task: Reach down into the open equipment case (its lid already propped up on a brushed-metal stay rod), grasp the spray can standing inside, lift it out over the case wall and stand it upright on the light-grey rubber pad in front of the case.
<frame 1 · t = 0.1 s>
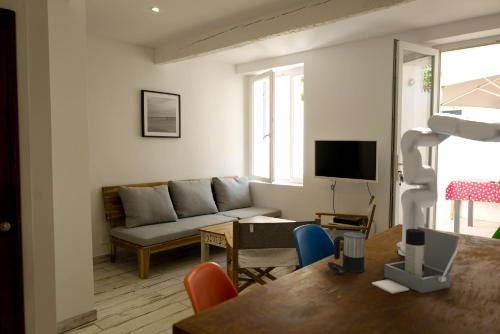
spray can: (413, 282, 143), resting in case
case: (415, 281, 143), on the table
pad: (390, 286, 138), on the table
milk frother: (346, 271, 156), on the table
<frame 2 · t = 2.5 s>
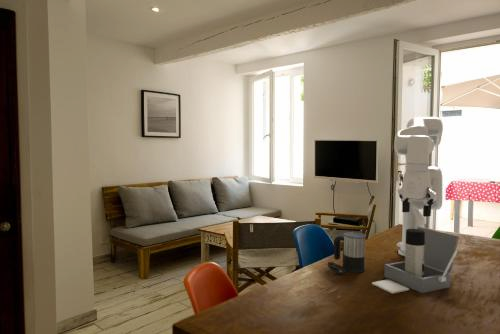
hand: (416, 214, 141), 26 cm above the table, fingers open, 9 cm apart
nothing on the table moved.
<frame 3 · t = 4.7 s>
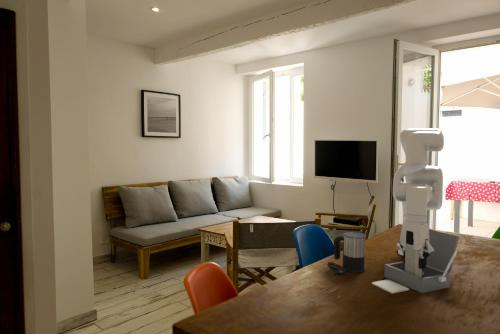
hand: (414, 264, 142), 7 cm above the table, fingers closed on spray can, 6 cm apart
spray can: (413, 282, 143), resting in case, touching gripper
everything else where it was.
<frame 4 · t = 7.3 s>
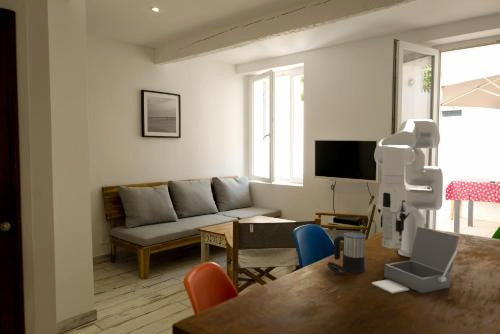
hand: (391, 228, 137), 22 cm above the table, fingers closed on spray can, 6 cm apart
spray can: (391, 247, 137), point 15 cm above the table, touching gripper
everything else where it was.
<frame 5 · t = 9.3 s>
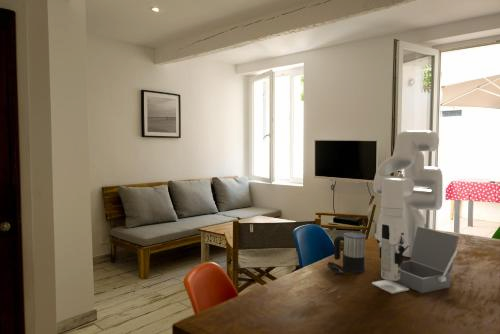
hand: (390, 260, 137), 10 cm above the table, fingers closed on spray can, 6 cm apart
spray can: (390, 278, 138), point 3 cm above the table, touching gripper
everything else where it was.
when the fingers open (8 cm above the table, at t = 10.3 s): spray can stays where it is, resting on pad.
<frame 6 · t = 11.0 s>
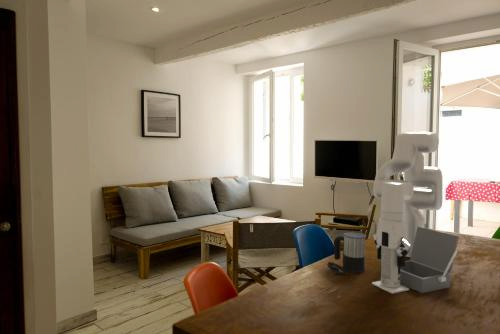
hand: (390, 262, 137), 9 cm above the table, fingers open, 9 cm apart
spray can: (390, 285, 138), resting on pad
everything else where it was.
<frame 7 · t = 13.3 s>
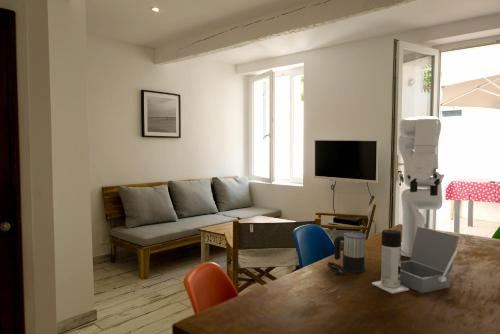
hand: (423, 193, 147), 33 cm above the table, fingers open, 9 cm apart
nothing on the table moved.
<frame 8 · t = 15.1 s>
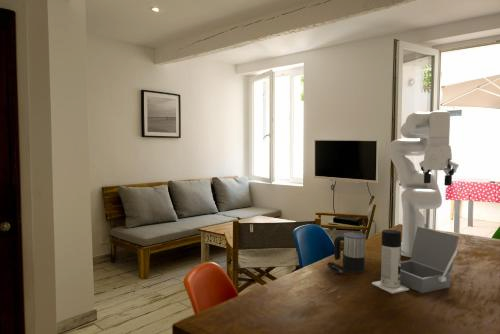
hand: (437, 184, 152), 36 cm above the table, fingers open, 9 cm apart
nothing on the table moved.
at the end: spray can inside the target area on the pad (0.2 cm from its centre), point 0.4 cm above the pad's base; spray can tilted 0°; the gripper is holding nothing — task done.
